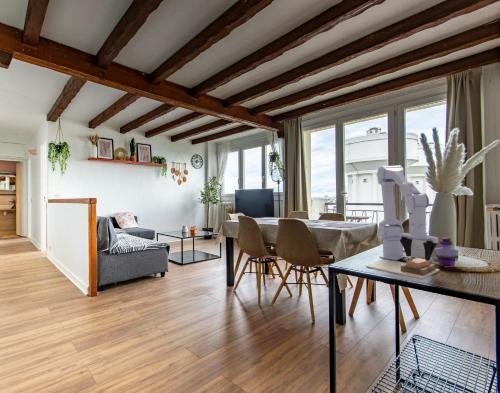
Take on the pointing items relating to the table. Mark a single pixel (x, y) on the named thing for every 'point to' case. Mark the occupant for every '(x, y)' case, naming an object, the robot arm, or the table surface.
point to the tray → (418, 271)
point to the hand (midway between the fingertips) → (417, 258)
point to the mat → (397, 268)
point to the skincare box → (418, 248)
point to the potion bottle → (446, 253)
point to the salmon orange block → (418, 263)
